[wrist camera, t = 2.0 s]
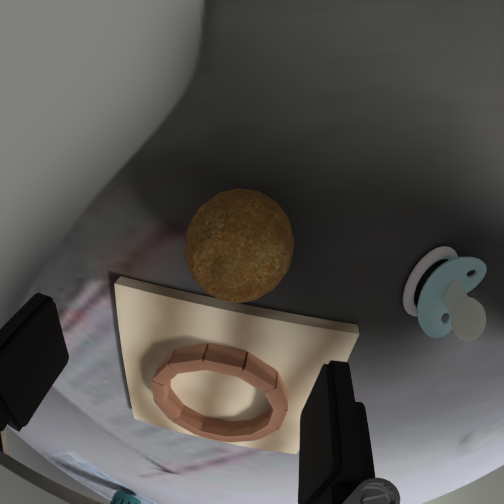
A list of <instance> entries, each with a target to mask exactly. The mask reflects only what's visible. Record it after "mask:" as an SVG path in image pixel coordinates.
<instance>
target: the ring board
mask: <svg viewBox="0 0 504 504" xmlns="http://www.w3.org/2000/svg"><path fill="white" fill-rule="evenodd" d="M114 285H115V296H116V306H117V316H118V324H119V333H120V340H121V347H122V354H123V361H124V367H125V373H126V379H127V384H128V390H129V395H130V400H131V405H132V410H133V415H134V418H135V419H138V420H141V421H144V422H147V423H150V424H153V425H157V426H160V427H163V428H167V429H170V430H174V431H178V432H181V433H185V434H189V435H193V436H197V437H201V438H205V439H210V440H214V441H219V442H224V443H229V444H234V445H239V446H244V447H250V448H256V449H262V450H269V451H276V452H283V453H292V454H297V453H298V451H299V449H300V416H301V412H302V409H303V407H304V405H305V403H306V401H307V399H308V397H309V395H310V392H311V390H312V388H313V386H314V384H315V381H316V379H317V377H318V374H319V372H320V370H321V368H322V365H323V364H328V363H329V361H330V360H335V361H343V362H347V360H348V358H349V356H350V354H351V351H352V349H353V347H354V345H355V343H356V341H357V338H358V336H359V330H358V325H356V324H350V323H343V322H337V321H331V320H325V319H320V318H314V317H308V316H303V315H297V314H292V313H286V312H281V311H276V310H270V309H265V308H260V307H255V306H250V305H245V304H240V303H233V302H227V301H222V300H219V299H216V298H212V297H207V296H202V295H198V294H193V293H189V292H184V291H180V290H176V289H171V288H167V287H163V286H159V285H154V284H150V283H146V282H142V281H138V280H134V279H130V278H126V277H122V276H121V277H120V278H119V279H118V280H117V281H116V282H115V283H114Z"/></svg>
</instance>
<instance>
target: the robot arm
mask: <svg viewBox="0 0 504 504" xmlns="http://www.w3.org/2000/svg"><path fill="white" fill-rule="evenodd" d="M68 359H69V355H68V351H67V347H66V344H65V340H64V337H63V333H62V329H61V325H60V321H59V317H58V313H57V308H56V304H55V303H54V302H53V299H52V298H51V297H49V296H46V295H43V294H40V293H36V294H35V295H34V296H33V297H32V298H31V299H30V300H29V301H28V302H27V303H26V304H25V305H24V306H23V307H22V308H21V309H20V310H19V311H18V312H17V313H16V314H15V315H14V316H13V317H12V318H11V319H10V320H9V321H8V322H7V323H6V324H5V325H4V326H3V327H2V328H1V329H0V504H103V503H100V502H98V501H95V500H93V499H91V498H88V497H86V496H84V495H81V494H79V493H77V492H74V491H72V490H70V489H68V488H66V487H64V486H62V485H60V484H58V483H56V482H54V481H52V480H50V479H48V478H46V477H44V476H42V475H41V474H39V473H37V472H35V471H33V470H32V469H30V468H28V467H26V466H25V465H23V464H21V463H20V462H18V461H16V460H15V459H13V458H11V457H10V456H9V451H8V445H7V439H6V432H5V427H6V425H7V424H8V425H9V426H10V427H12V428H14V429H15V430H17V431H19V432H20V430H21V428H22V427H24V426H26V425H27V424H28V422H29V421H30V419H31V417H32V416H33V414H34V413H35V411H36V410H37V408H38V406H39V405H40V403H41V402H42V400H43V399H44V397H45V396H46V394H47V392H48V391H49V389H50V388H51V386H52V385H53V383H54V382H55V380H56V379H57V377H58V376H59V374H60V373H61V372H62V370H63V369H64V367H65V366H66V364H67V362H68ZM298 504H400V495H399V492H398V490H397V488H396V487H395V486H394V485H393V484H392V483H391V482H390V481H387V480H385V479H382V478H375V471H374V463H373V456H372V449H371V442H370V435H369V429H368V422H367V416H366V410H365V406H364V404H363V403H361V402H355V398H354V391H353V385H352V379H351V373H350V367H349V363H348V362H343V361H335V360H330V361H329V363H328V364H323V365H322V368H321V370H320V372H319V374H318V377H317V379H316V381H315V384H314V386H313V388H312V390H311V392H310V395H309V397H308V399H307V401H306V403H305V405H304V407H303V409H302V412H301V416H300V451H299V489H298Z"/></svg>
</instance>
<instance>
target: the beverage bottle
mask: <svg viewBox="0 0 504 504" xmlns="http://www.w3.org/2000/svg"><path fill="white" fill-rule="evenodd" d="M111 501H112V502H111V503H110V504H141V501H140V500H139V499H137V498H135V497H133V496H131V495H129V494H127V493H124V492H120V491H117V492H116V493H115V495H113V500H111Z"/></svg>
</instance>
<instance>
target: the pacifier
mask: <svg viewBox="0 0 504 504" xmlns="http://www.w3.org/2000/svg"><path fill="white" fill-rule="evenodd" d="M441 259H449V261H447V262H445V263H443V264H442V265H441V266H439V267H438V268H437V269H436V270H435V271H434V272H433V273H432V274H431V275H430V276H429V278H428V279H427V281H426V283H425V284H424V286H423V288H422V290H421V293H420V296H419V300H418V306H417V305H416V304H414V293H415V289H416V286H417V284H418V282H419V280H420V278H421V277H422V275H423V274H424V272H425V271H426V270H427V269H428V268H429V267H430V266H431V265H432V264H433V263H435V262H437V261H438V260H441ZM470 270H475V273H474V274H473V275H472V276H467V273H468V272H469V271H470ZM486 271H487V267H486V265H485V263H484V262H483V261H482V260H480V259H478V258H475V257H467V256H466V257H458V255H457V254H456V252H455V250H453V249H452V248H451V247H446V246H443V247H438V248H436V249H434V250H432V251H430V252H429V253H428V254H426V255H425V256H424V257H423V258H422V259H421V260H420V261H419V262H418V264H417V265H416V266H415V267H414V269H413V271H412V272H411V274H410V276H409V278H408V280H407V283H406V285H405V289H404V293H403V305H404V309H405V310H406V312H407V313H408V314H410V315H412V316H417V317H418V321H419V324H420V326H421V328H422V329H423V331H424V332H425V333H426V334H427V335H428V336H429V337H431V338H442V337H444V336H446V335H447V334H448V333H449V332H450V331H451V330H452V329H453V332H454V334H455V335H456V336H457V338H459V339H460V340H462V341H465V342H470V341H473V340H475V339H477V338H478V337H479V336H480V335H481V334H482V333H483V331H484V329H485V326H486V313H485V310H484V308H483V306H482V305H481V304H480V303H479V302H478V301H477V300H476V299H474V298H471V297H468V295H467V294H466V293H468V292H469V291H471V290H472V289H474V288H475V287H476V286H477V285H478V284H479V283H480V282H481V281H482V279H483V278H484V276H485V274H486ZM444 313H448V314H449V317H448V319H447V320H446V321H445V322H442V321H441V318H442V315H443V314H444Z"/></svg>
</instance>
